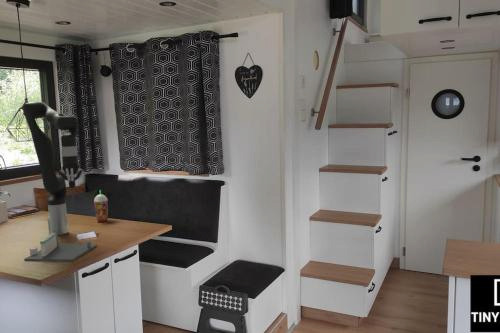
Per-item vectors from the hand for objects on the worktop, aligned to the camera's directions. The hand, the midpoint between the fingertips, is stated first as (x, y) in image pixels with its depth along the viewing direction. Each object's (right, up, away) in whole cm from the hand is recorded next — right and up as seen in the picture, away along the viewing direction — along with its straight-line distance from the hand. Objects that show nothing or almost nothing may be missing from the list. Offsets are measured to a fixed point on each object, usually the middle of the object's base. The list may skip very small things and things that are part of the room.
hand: (72, 188), depth 226 cm
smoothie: (-1, -24, +48) cm, 53 cm away
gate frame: (+1, -31, -15) cm, 34 cm away
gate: (-4, -30, -17) cm, 34 cm away
